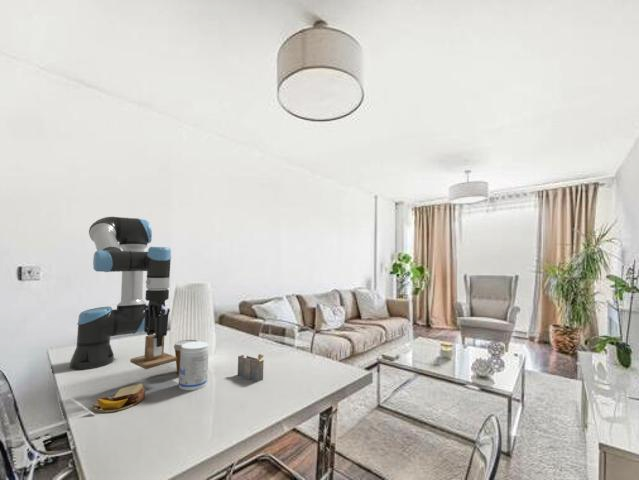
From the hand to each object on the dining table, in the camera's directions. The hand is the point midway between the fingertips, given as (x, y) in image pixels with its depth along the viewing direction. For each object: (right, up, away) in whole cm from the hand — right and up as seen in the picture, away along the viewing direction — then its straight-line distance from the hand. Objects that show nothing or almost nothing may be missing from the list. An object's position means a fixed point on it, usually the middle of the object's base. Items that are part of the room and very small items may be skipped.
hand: (154, 353), depth 112 cm
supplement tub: (+15, -11, -1) cm, 19 cm away
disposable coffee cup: (+6, -12, +12) cm, 18 cm away
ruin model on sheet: (+33, -13, +8) cm, 36 cm away
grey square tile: (0, -11, -1) cm, 11 cm away
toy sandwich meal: (-3, -10, -15) cm, 19 cm away
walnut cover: (0, -3, 0) cm, 3 cm away
